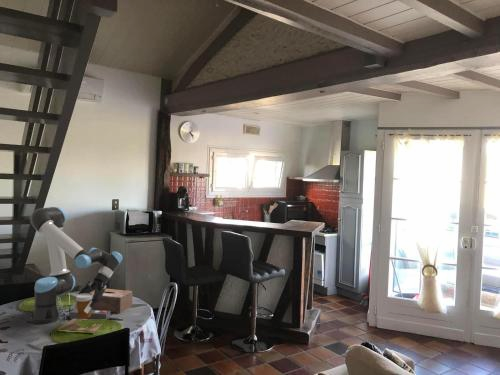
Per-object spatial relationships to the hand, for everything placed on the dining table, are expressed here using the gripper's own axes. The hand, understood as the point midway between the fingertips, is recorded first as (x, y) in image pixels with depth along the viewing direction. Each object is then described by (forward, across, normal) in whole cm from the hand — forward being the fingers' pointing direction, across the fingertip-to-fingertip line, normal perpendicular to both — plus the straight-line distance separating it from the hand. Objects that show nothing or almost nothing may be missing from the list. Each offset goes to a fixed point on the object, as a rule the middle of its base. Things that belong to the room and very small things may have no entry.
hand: (79, 310), depth 219 cm
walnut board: (+5, 0, -9) cm, 11 cm away
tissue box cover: (-16, +16, -31) cm, 38 cm away
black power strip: (-4, +5, -19) cm, 20 cm away
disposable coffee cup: (+1, 0, -6) cm, 6 cm away
